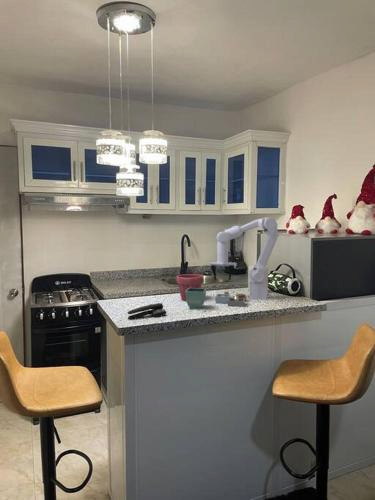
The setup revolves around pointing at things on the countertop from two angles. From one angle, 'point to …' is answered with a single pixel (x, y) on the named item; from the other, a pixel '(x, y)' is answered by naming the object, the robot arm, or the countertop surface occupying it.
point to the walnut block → (241, 296)
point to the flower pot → (195, 297)
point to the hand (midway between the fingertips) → (222, 279)
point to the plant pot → (188, 283)
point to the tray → (236, 302)
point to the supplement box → (264, 277)
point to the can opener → (156, 311)
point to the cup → (222, 298)
